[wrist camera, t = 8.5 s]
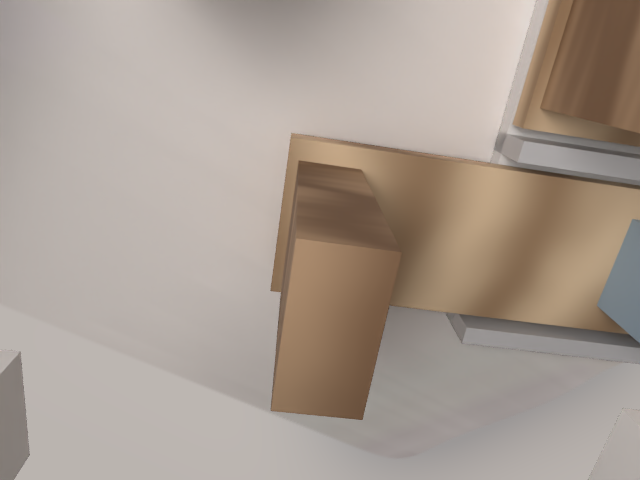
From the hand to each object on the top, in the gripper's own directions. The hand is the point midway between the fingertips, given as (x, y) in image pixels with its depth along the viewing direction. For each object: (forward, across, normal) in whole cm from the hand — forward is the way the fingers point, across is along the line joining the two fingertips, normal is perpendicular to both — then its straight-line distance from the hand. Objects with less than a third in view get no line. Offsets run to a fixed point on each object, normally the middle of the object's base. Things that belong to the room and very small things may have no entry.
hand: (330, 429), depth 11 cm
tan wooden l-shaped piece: (+15, +11, 0) cm, 18 cm away
